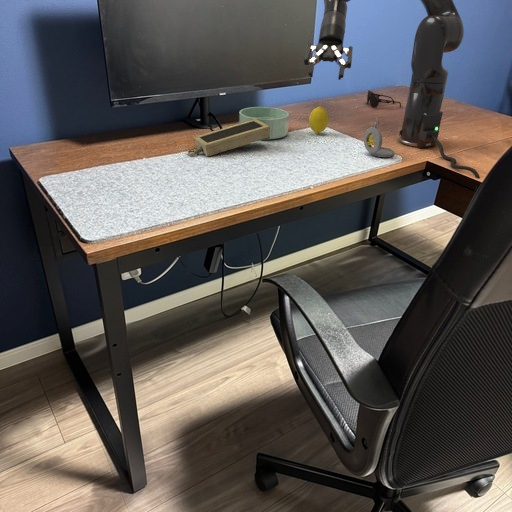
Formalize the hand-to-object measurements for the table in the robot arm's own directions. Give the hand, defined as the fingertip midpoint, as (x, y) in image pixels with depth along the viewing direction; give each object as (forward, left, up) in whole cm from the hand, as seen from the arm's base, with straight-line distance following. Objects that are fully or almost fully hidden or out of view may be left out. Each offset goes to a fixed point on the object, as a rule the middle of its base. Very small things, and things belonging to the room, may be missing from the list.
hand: (325, 76), depth 146 cm
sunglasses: (+13, -37, -14) cm, 42 cm away
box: (-11, +38, -14) cm, 42 cm away
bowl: (-2, +22, -14) cm, 26 cm away
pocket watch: (-30, +3, -14) cm, 34 cm away
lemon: (-8, +7, -14) cm, 18 cm away
